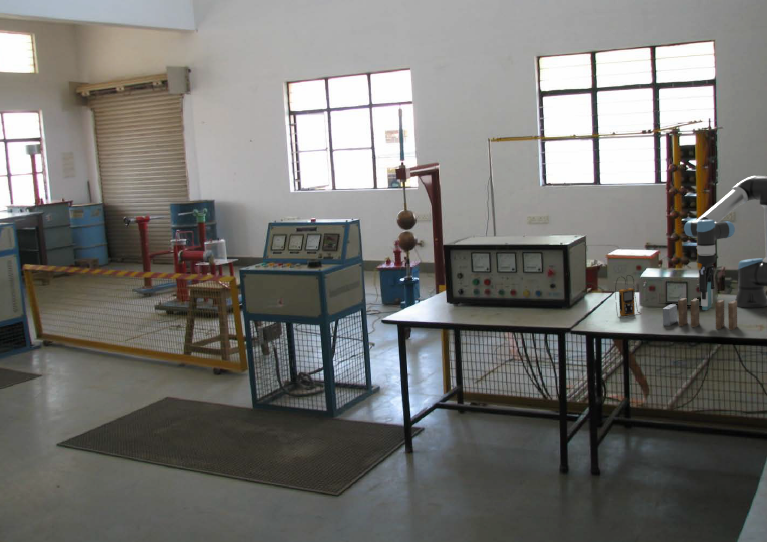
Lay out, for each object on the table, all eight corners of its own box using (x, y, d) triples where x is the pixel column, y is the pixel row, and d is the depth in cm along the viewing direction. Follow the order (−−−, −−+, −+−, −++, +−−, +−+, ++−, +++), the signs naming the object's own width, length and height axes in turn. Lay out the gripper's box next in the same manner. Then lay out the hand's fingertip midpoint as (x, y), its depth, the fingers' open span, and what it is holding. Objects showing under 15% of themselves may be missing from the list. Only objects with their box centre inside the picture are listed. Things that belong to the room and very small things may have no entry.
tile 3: (711, 307, 360) (710, 281, 358) (707, 310, 355) (706, 284, 353) (706, 307, 361) (706, 281, 359) (702, 309, 356) (702, 283, 355)
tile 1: (737, 326, 354) (736, 300, 352) (733, 329, 350) (733, 303, 348) (732, 326, 355) (732, 300, 353) (728, 329, 351) (728, 303, 349)
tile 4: (699, 324, 365) (699, 298, 363) (695, 326, 360) (694, 301, 358) (695, 323, 366) (694, 298, 364) (690, 326, 361) (690, 300, 359)
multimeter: (626, 320, 383) (625, 279, 380) (613, 316, 393) (612, 277, 390) (651, 315, 389) (649, 275, 386) (637, 312, 398) (636, 273, 395)
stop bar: (677, 321, 373) (676, 304, 372) (669, 325, 366) (669, 309, 364) (670, 320, 375) (670, 304, 374) (663, 325, 367) (662, 308, 366)
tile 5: (687, 323, 368) (687, 297, 366) (683, 325, 364) (682, 300, 362) (683, 322, 369) (682, 297, 367) (678, 325, 365) (678, 300, 363)
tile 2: (724, 325, 358) (724, 300, 356) (720, 328, 353) (720, 302, 351) (719, 325, 359) (719, 299, 357) (715, 328, 354) (715, 302, 352)
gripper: (704, 251, 364) (705, 300, 367) (690, 257, 350) (691, 308, 353) (721, 251, 359) (722, 301, 363) (708, 257, 345) (708, 309, 348)
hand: (706, 304), depth 358 cm, fingers closed on tile 3, 6 cm apart
